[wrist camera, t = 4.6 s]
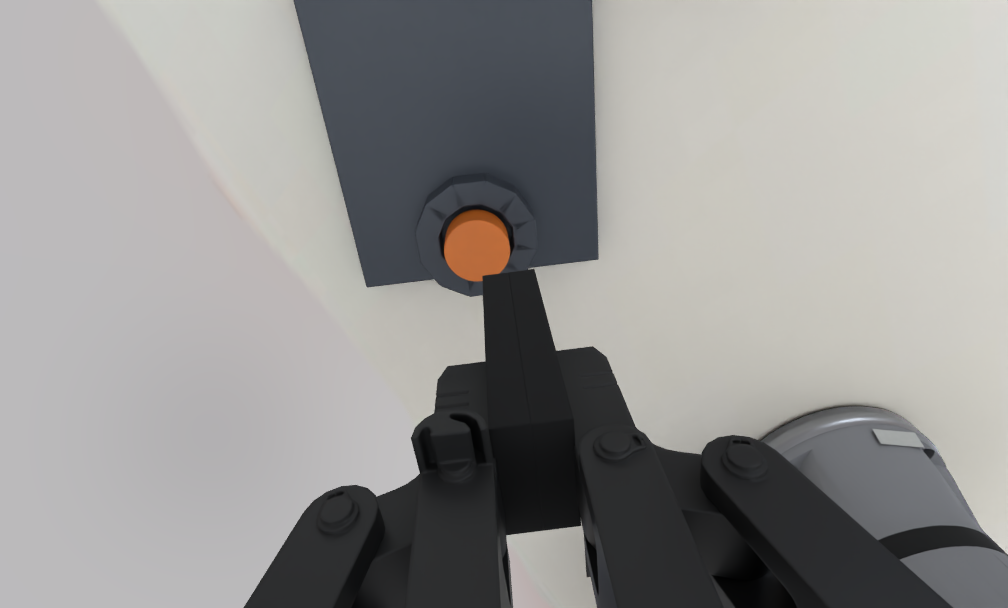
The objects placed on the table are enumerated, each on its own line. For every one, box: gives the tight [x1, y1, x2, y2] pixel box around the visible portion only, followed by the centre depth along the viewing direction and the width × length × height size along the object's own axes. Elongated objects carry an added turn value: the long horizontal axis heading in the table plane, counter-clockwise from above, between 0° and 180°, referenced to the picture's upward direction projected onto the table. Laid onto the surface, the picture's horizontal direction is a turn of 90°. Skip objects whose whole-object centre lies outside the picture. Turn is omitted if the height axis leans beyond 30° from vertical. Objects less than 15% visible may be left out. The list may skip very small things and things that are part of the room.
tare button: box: [444, 209, 510, 281], centre depth 26 cm, size 3×3×2 cm
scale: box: [294, 0, 598, 297], centre depth 25 cm, size 18×13×3 cm
